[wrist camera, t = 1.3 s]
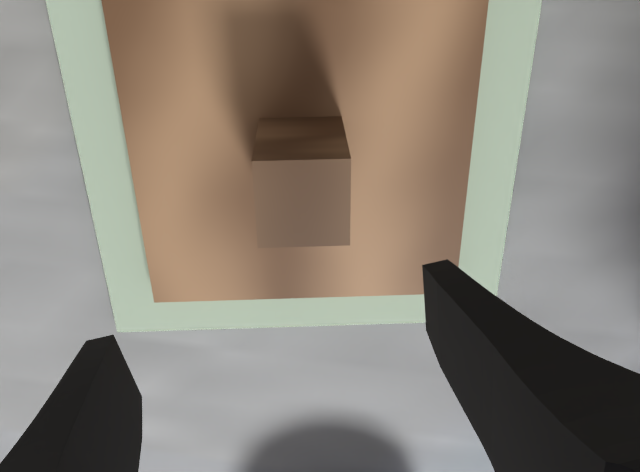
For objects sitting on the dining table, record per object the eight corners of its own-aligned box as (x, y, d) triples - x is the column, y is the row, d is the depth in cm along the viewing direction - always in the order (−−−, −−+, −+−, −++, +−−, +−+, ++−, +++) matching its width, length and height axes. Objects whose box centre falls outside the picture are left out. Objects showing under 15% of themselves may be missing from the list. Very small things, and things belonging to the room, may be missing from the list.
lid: (485, -36, 19) (539, -22, 15) (450, 282, 25) (482, 359, 20) (104, -30, 19) (48, -13, 14) (158, 291, 24) (129, 370, 20)
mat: (553, -109, 18) (558, -110, 18) (490, 314, 26) (492, 320, 26) (28, -103, 18) (23, -103, 18) (119, 326, 26) (117, 332, 25)
